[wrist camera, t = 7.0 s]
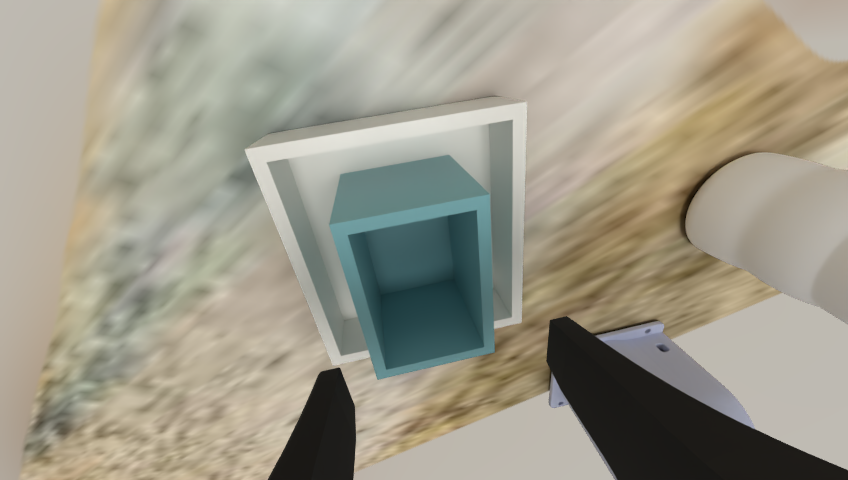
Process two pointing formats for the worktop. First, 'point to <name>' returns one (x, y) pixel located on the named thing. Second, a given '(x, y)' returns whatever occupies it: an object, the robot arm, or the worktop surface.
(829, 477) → the robot arm
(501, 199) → the white crate
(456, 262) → the teal crate
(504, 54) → the worktop surface
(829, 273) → the water bottle
